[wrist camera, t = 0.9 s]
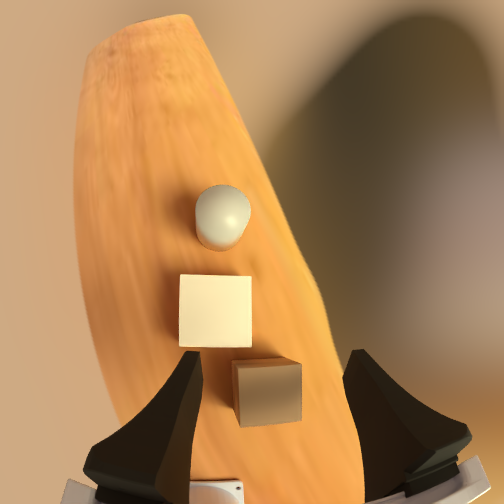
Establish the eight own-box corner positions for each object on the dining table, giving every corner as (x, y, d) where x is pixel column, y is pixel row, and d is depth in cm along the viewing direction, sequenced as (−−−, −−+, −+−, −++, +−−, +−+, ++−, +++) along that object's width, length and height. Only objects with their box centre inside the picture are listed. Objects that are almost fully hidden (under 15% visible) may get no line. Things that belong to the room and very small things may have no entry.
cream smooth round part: (242, 251, 27) (251, 236, 22) (195, 251, 26) (194, 235, 21) (241, 208, 28) (249, 186, 23) (197, 207, 27) (196, 183, 23)
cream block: (246, 344, 25) (251, 347, 22) (181, 343, 24) (179, 346, 21) (245, 281, 27) (251, 276, 24) (182, 279, 26) (180, 274, 23)
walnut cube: (284, 404, 24) (301, 420, 19) (233, 409, 23) (240, 427, 18) (283, 357, 25) (301, 363, 21) (231, 359, 24) (238, 368, 20)
